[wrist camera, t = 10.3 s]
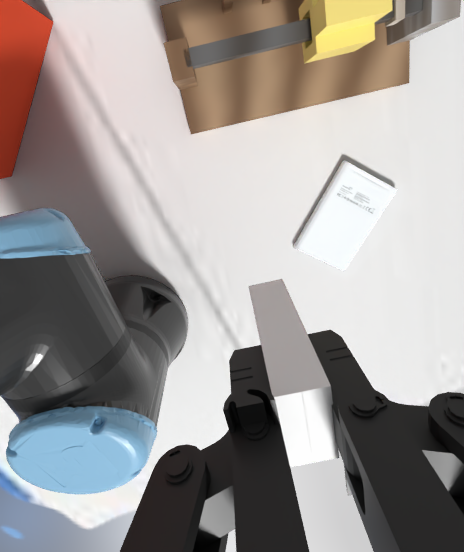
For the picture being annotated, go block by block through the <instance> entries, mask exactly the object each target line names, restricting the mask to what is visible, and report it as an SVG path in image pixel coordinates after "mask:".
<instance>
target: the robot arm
mask: <svg viewBox="0 0 464 552" xmlns="http://www.w3.org/2000/svg"><path fill="white" fill-rule="evenodd" d="M90 252H91V250H90V249H89V247H86V246H85V244H84V243H83V241H82V240H81V238H80V236H79V234H78V233H77V231H76V229H75V228H74V226H73V224H72V222H71V221H70V219H69V218H68V217H67V216H66V215H65V214H63V213H62V212H60V211H58V210H55V209H52V208H40V209H34V210H30V211H25V212H20V213H16V214H11V215H7V216H3V217H0V396H1V397H2V398H3V399H4V400H5V401H6V403H7V404H8V405H9V407H10V408H11V409H12V410H13V412H14V413H15V414H16V416H17V417H18V419H19V424H17V425H16V426H15V427H14V428H13V430H12V431H11V433H10V435H9V442H8V447H7V449H6V457H7V461H8V463H9V465H10V466H11V468H12V469H13V471H14V472H15V473H16V474H17V475H19V476H20V477H21V478H22V479H24V480H25V481H27V482H29V483H31V484H33V485H35V486H38V487H40V488H43V489H46V490H50V491H54V492H61V493H67V494H92V493H99V492H104V491H108V490H111V489H114V488H117V487H120V486H122V485H124V484H126V483H127V482H129V481H131V480H132V479H133V478H134V477H136V476H137V475H138V474H139V473H140V471H141V470H142V468H143V467H144V466H145V464H146V463H147V460H148V458H149V455H150V452H151V449H152V446H153V442H154V440H155V438H156V435H157V428H156V427H157V422H158V416H159V411H160V406H161V401H162V396H163V391H164V385H165V380H166V375H167V370H168V367H169V365H170V364H171V363H172V361H173V360H174V359H175V358H176V357H177V356H178V355H179V353H180V352H181V350H182V348H183V346H184V344H185V341H186V337H187V330H188V317H187V313H186V310H185V307H184V305H183V304H182V302H181V300H180V299H179V298H178V296H177V295H176V294H175V293H174V292H173V291H172V290H170V289H169V288H168V287H166V286H165V285H163V284H162V283H160V282H158V281H155V280H153V279H150V278H146V277H141V276H122V277H117V278H114V279H111V280H109V281H106V282H104V280H103V278H102V276H101V274H100V272H99V270H98V268H97V266H96V264H95V262H94V260H93V258H92V256H91V254H90ZM249 291H250V295H251V300H252V305H253V309H254V314H255V318H256V323H257V328H258V332H259V337H260V342H261V345H259V346H254V347H249V348H244V349H239V350H234V352H233V354H232V356H231V358H230V360H229V363H230V379H231V395H230V396H229V397H228V398H227V400H226V401H225V404H224V409H223V411H224V414H225V418H226V421H227V424H228V427H229V430H228V432H227V433H226V434H225V435H224V436H223V437H222V438H221V439H220V440H219V441H217V442H216V443H214V444H212V445H210V446H208V447H206V448H205V449H203V450H201V451H200V450H199V449H198V448H197V447H196V446H192V445H181V446H176V447H175V448H173V449H171V450H169V451H167V452H166V453H165V454H164V455H163V456H162V457H161V458H160V459H159V461H158V462H157V464H156V466H155V467H154V470H153V472H152V474H151V477H150V479H149V482H148V484H147V487H146V489H145V491H144V494H143V496H142V499H141V501H140V504H139V506H138V508H137V511H136V514H135V516H134V518H133V521H132V523H131V526H130V528H129V530H128V533H127V535H126V538H125V540H124V543H123V545H122V547H121V550H120V552H225V550H226V544H227V538H228V533H229V532H230V531H232V530H234V529H235V532H236V551H237V552H309V549H308V544H307V540H306V536H305V531H304V527H303V522H302V518H301V514H300V509H299V504H298V500H297V496H296V491H295V487H294V482H293V478H292V474H291V469H290V467H293V466H299V465H304V464H310V463H315V462H320V461H325V460H331V459H336V458H339V452H338V449H339V451H340V454H341V456H342V459H343V462H344V468H345V477H346V487H347V493H348V495H353V497H354V500H355V503H356V505H357V508H358V511H359V514H360V516H361V519H362V521H363V524H364V527H365V530H366V532H367V535H368V537H369V540H370V543H371V545H372V548H373V551H374V552H464V394H462V393H452V392H447V393H442V394H438V395H437V396H435V397H434V398H433V399H431V401H430V404H429V407H428V406H414V405H404V404H398V403H395V402H392V401H389V400H388V399H387V398H386V397H385V395H383V394H381V393H380V392H378V391H376V390H374V388H373V387H372V386H371V384H370V382H369V381H368V379H367V377H366V376H365V374H364V373H363V371H362V369H361V368H360V366H359V365H358V363H357V361H356V360H355V358H354V357H353V355H352V353H351V352H350V350H349V349H348V347H347V345H346V343H345V342H344V340H343V339H342V337H341V336H339V335H338V334H336V333H335V332H333V331H332V330H327V331H322V332H317V333H312V334H307V332H306V330H305V328H304V326H303V324H302V321H301V319H300V317H299V315H298V313H297V311H296V308H295V306H294V304H293V302H292V300H291V297H290V295H289V293H288V291H287V289H286V286H285V284H284V282H283V280H282V279H280V280H275V281H271V282H266V283H261V284H256V285H252V286H249Z"/></svg>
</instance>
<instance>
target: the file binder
mask: <svg viewBox="0 0 464 552" xmlns="http://www.w3.org/2000/svg"><path fill="white" fill-rule="evenodd" d="M52 25H53V21H51V20H50V19H48V18H47V17H45V16H44V15H43V14H41V13H40V12H38V11H37V10H35V9H34V8H32V7H31V6H29V5H28V4H26V3H25V2H24V1H22V0H0V179H2V178H7V177H11V176H12V173H13V169H14V166H15V162H16V158H17V155H18V151H19V147H20V143H21V140H22V136H23V132H24V129H25V125H26V121H27V118H28V114H29V110H30V106H31V103H32V99H33V95H34V92H35V88H36V84H37V81H38V77H39V73H40V69H41V66H42V62H43V58H44V55H45V51H46V47H47V44H48V40H49V36H50V32H51V29H52Z"/></svg>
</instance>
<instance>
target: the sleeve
mask: <svg viewBox="0 0 464 552" xmlns="http://www.w3.org/2000/svg"><path fill="white" fill-rule="evenodd" d="M391 11H392V0H304V1H303V3H302V4H301V6H300V7H299V18H300V20H304V19H308V18H310V21H311V32H312V40H311V41H307V42H303V43H302V47H303V57H304V63H309V62H313V61H317V60H321V59H325V58H329V57H333V56H338V55H342V54H346V53H350V52H354V51H356V50H358V49H360V48H361V47H363V46H365V45H367V44H368V43H370V42H372V41H373V40H375V22H376V21H378V20H379V19H381V18H382V17H383V16H385V15H386V14H388V13H389V12H391Z"/></svg>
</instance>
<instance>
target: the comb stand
mask: <svg viewBox="0 0 464 552" xmlns="http://www.w3.org/2000/svg"><path fill="white" fill-rule="evenodd" d="M303 1H304V0H181V1H177V2H173V3H170V4H166V5H162V6H160V9H161V13H162V17H163V21H164V25H165V29H166V33H167V37H168V42H165V43H164V46H165V50H166V54H167V58H168V62H169V66H170V70H171V74H172V78H173V82H174V83H175V84H176V86H177V87H178V88H179V89H180V91H181V95H182V99H183V103H184V107H185V111H186V115H187V119H188V124H189V128H190V132H191V134H195V133H199V132H203V131H207V130H212V129H216V128H220V127H224V126H229V125H233V124H237V123H241V122H246V121H250V120H254V119H258V118H263V117H267V116H271V115H275V114H280V113H284V112H288V111H292V110H297V109H301V108H305V107H309V106H314V105H318V104H322V103H326V102H331V101H335V100H339V99H343V98H348V97H352V96H356V95H360V94H365V93H369V92H373V91H377V90H382V89H386V88H390V87H394V86H399V85H403V84H407V83H409V42H410V40H411V39H414V38H416V37H418V36H420V35H422V34H424V33H426V32H428V31H430V30H433V29H435V28H437V27H439V26H441V25H443V24H445V23H447V22H449V21H452V20H454V19H456V18H458V17H460V5H461V0H392V11H391V12H389V13H388V14H386V15H385V16H383V17H382V18H381V19H379V20H378V21H376V22H375V40H373V41H372V42H370V43H368V44H367V45H365V46H363V47H361V48H360V49H358V50H356V51H354V52H350V53H346V54H342V55H338V56H333V57H329V58H325V59H321V60H317V61H313V62H309V63H304V57H303V47H302V43H303V42H307V41H311V40H312V32H311V21H310V18H308V19H304V20H300V18H299V7H300V6H301V4H302V3H303Z"/></svg>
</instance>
